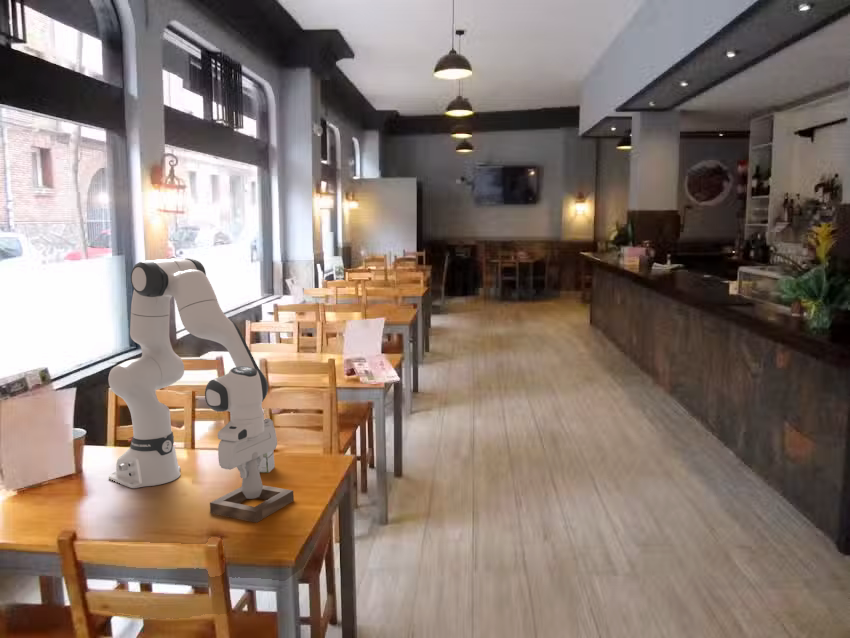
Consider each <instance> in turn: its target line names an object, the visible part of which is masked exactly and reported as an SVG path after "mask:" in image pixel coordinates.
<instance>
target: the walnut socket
mask: <svg viewBox="0 0 850 638" xmlns="http://www.w3.org/2000/svg"><path fill="white" fill-rule="evenodd" d="M262 485H263V484H262ZM247 499H248V498H246V497H245V495H244V494H243V492H242V486H240V487H237V488H236V489H234V490H232V491H229V493H226V494H224V495H222V496H220V497H219V498H216V499H214V500H212V501H210V502H209V510H210V514H212V515H213V514H214V515H218V516H222V517H223V516H224V517H227V518H231V519H232V518H233V519H237V520H242V521H247V522H250V523H255V522H256V523H258V522H260V521H262V520H264V519H265V518H267V517H268V516H271V515H272V514H274V513H276V512H277V511H279V510H280V509H282V508H284V507H286V506H287V505H290V504H291V503H293V502H294V501H295V498H294V490H291V489H285V488H281V487H276V486H271V485H265V484H264V485H263V489H262V491H261V494H260V496H259V497H257V498H256V499H261V500H263V501H262V502H261V503H259V504H258V505H256V506H254V505H253V506H252V505H248V504H241V503H242V502H244V501H246V500H247ZM263 518H264V519H263Z"/></svg>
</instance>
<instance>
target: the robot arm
mask: <svg viewBox="0 0 850 638" xmlns="http://www.w3.org/2000/svg"><path fill="white" fill-rule="evenodd" d="M206 273H207V272H206V269H205V266H204V265H203V264H202V263H201V262H200V261H198V260H196V259H193V258H188V257H187V258H175V257H174V258H173V257H172V258H171V257H169V258H167V257H166V258H162V259H154V260H151V259H147V260H143V261H140V262H138V263H136V264H135V265H134V266H133V267H132V269H131V273H130V283H131V286H132V288H133V291H132V298H131V305H130V324H129V326H130V327H129V336H130V339H131V340H132V341H133V342H134V343H136V344H137V345H139V346H140V348H141V356H140V357H136V358H133V359H129V360H126V361H125V360H124V361H123V362H121V363H119V364H117V365H115V366H113V367H112V368H111V369H110V371H109V374H108V386H109V388H110V390H111V392H112V393H114V394H115V395H116V396H118V397H120V399H122V400H123V401H124V403H125V404H126V405H127V407H128V410H129V412H130V416H131V417H130V418H131V422H132V433H133V436H131V437H129V438H127V440H128V441H127V442H128V443H130V447H129V449H127V450H126V451H125V452H124V453H123V454H122V455H121V456H120V457H118V459H117V461H116V464H115V466H116V469H115V470H116V471H114V472H112V473H111V474H110V475H109V476H108V480H109V479H111V480H110V481H112V480H113V482H114V481H115V483H117V482H118V483H117V484H119V483H120V485H122V486H125V487H128V488H130V489H138V488H142V487H151V486H152V487H153V486H159V485H164V484H167V483H171V482H173V481H175V480H178V478H179V477H180V476H181V472H180V471H181V466H180V465H179V463H178V456H177V452H176V447H175V445H174V444H175V439H174V438H175V435H174V432H173V431H172V424H171V423H172V420H171V410H170V408H169V407H168V406H167V404H165V403H162V402H160V401H159V399H158V396H157V393H156V392H157V390H160V389H163V388H167V387H170V386H171V385H173V384H175V383H177V382H178V381H180V380H181V379H182V378H183V376H184V373H185V363H184V361H183V360H182V358H181V356H179V355H178V354H177V353H176V352H175V351H174V349H173V346H172V343H171V339H170V322H171V321H170V317H171V300H172V298H174V300H175V303H176V307H177V311H178V314H179V317H180V320H181V324H182V325H183V327H184V329H185V330H186V332H188V333H190V334H191V335H192V336H194V337H196V338H199V339H202V340H209V341H212V342H215V343H218V344H220V345H222V346H223V347H224V348H225V349H226V350H227V352H228V353H229V355H230V357H231V359H232V360H231V361H233V363H234V366H235V367H233V368H231V369H230V370H229V371H228V372H227V373H226V374H224V375H222V376H218V377H216V378H213V379H211V380H209V382H208V383H207V384H206V386H205V390H204V399H205V402H206V405H207V406H208V407H209V408H210V409H212V410H213V411H214V412H230V421H228V422H227V423H226V425H224V426H223V427H222V428H221V429H220V430H219V431H218V432H217V438H218V440H220V441H219V442H218V446H217V449H218V450H217V455H218V458H217V459H218V466H220V468H221V469H224V470H233V469H237V470H238V472H239V475H240V478H241V479H243V478H244V479H245V478H247V477H248V476H249V471H246V469H245V466H246V462H248V461H251V460H252V454H253V453H254V452H257V453H258V458H257V459H256V461H257V465H258V469H259V471H261V464H262V461H263V455H264V454H266V453H268V452H270V451H272V450H273V451H274V450H276V449H277V447H278V438H277V432H276V429H275V426H274V421H273V420H272V419H270V418H269V417H268V418H265V417H264V410H263V406H262V405H263V404H262V403H263V401H264V400H265V399H266V397H267V395H268V392H269V382H268V380H267V378H266V376H265V375H264V373H263V372H262V371H261V369H260V368H259V366H258V364H257V362H256V360H255V358H254V356H253V354H252V353H251V350H250V348H249V346H248V344H247V342H246V340H245V338H244V337H243V334H242V332H241V331H240V329H239V326H238V325H237V324H236V323H235V322H234V321H232V320H231V319H229V318H228V317H227V316H226V314H225V313H224V311H223V310H222V308H221V306H220V303H219V301H218V298H217V295H216V294H215V290H214V288H213V286H212V284H211V282H210V280H209V278H208V277H207V274H206Z"/></svg>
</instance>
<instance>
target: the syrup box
mask: <svg viewBox="0 0 850 638" xmlns="http://www.w3.org/2000/svg"><path fill="white" fill-rule="evenodd" d="M274 454H275V453H274V450H272V451H270V452H268V453H266V454H264V455H263V461H262V464H261V471H259V473H260V474H261V473H263V474H264V473H265V474H266V473H267V474H268V473H271V471H272V470H274V469H275V466H276V465H275V455H274Z"/></svg>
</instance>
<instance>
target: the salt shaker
mask: <svg viewBox="0 0 850 638" xmlns="http://www.w3.org/2000/svg"><path fill="white" fill-rule="evenodd" d="M257 458H258V453H257V452H254V453H253V454H252V460H251V461H248V462H246V466H245V469H246V471H249V476H248V477H247V478H245V479H244V478H241V479H242V480H241V481H242V482H241V487H242V492H243V494H244V495H245V497H246V498H248V499H249V500H251V499H252V500H254V499H258V498H257V497H259V496H260V494H261V491H262V489H263V482H262V481H263V480H262V478H261V473H259V469H258V465H257V461H256V459H257Z"/></svg>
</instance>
